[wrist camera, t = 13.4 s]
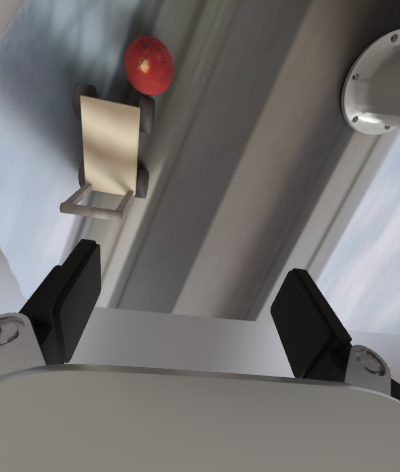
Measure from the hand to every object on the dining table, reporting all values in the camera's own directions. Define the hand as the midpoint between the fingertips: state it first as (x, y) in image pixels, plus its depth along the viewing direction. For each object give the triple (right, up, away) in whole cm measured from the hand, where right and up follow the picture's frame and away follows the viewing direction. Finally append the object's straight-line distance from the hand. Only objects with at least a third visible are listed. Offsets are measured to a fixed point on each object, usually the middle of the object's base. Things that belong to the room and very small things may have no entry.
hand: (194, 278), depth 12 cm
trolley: (-12, +16, +25) cm, 32 cm away
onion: (-6, +25, +20) cm, 33 cm away
